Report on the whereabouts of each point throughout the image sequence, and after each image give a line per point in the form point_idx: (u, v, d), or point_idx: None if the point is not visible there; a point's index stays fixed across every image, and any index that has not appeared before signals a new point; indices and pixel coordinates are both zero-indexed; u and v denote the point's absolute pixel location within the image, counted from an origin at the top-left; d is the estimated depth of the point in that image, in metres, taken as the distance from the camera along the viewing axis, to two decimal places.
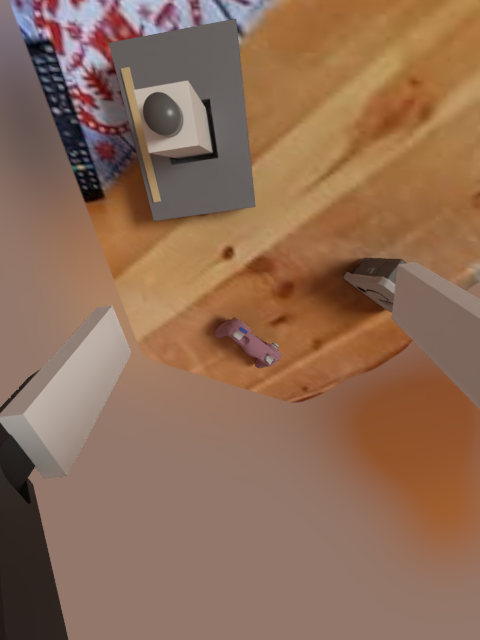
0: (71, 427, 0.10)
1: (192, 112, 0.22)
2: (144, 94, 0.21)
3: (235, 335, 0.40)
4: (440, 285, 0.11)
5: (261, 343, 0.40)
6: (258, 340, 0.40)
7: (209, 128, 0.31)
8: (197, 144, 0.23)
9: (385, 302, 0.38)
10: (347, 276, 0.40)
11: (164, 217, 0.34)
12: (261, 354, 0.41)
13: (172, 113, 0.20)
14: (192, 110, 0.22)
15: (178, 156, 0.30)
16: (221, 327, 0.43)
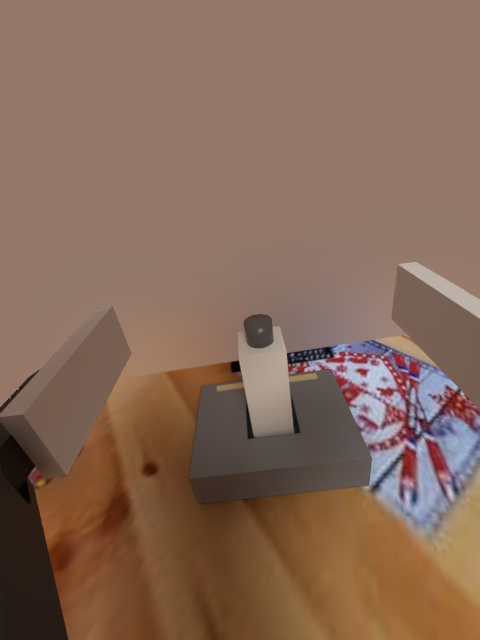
0: (71, 427, 0.10)
1: (263, 353, 0.24)
2: (276, 330, 0.27)
3: None
4: (440, 285, 0.11)
5: None
6: None
7: None
8: (239, 356, 0.25)
9: None
10: None
11: (202, 393, 0.35)
12: None
13: (256, 326, 0.24)
14: (265, 353, 0.24)
15: None
16: None
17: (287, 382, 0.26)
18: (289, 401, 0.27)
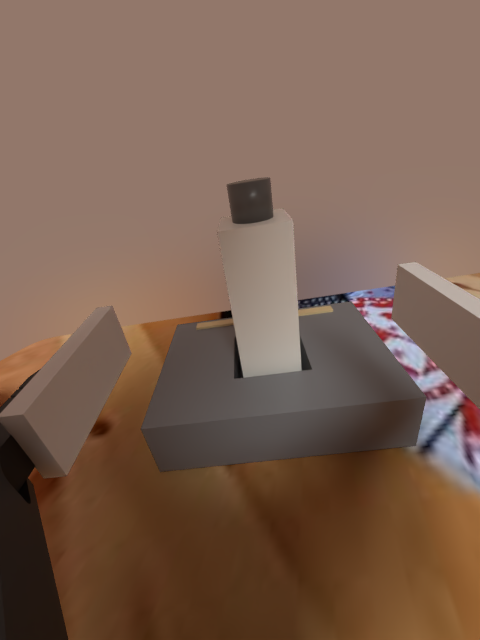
0: (71, 427, 0.10)
1: (256, 225, 0.15)
2: (278, 211, 0.18)
3: None
4: (440, 285, 0.11)
5: None
6: None
7: None
8: (218, 231, 0.16)
9: None
10: None
11: (177, 332, 0.26)
12: None
13: (246, 182, 0.15)
14: (259, 226, 0.15)
15: None
16: None
17: (293, 282, 0.17)
18: (296, 317, 0.18)
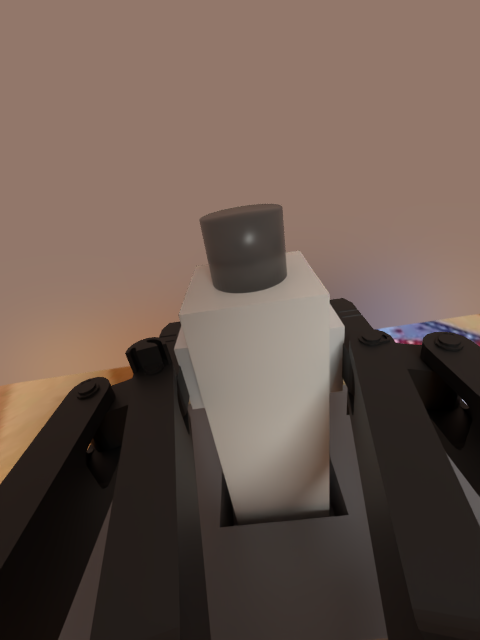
0: None
1: (256, 303, 0.08)
2: (293, 257, 0.10)
3: None
4: None
5: None
6: None
7: None
8: (181, 314, 0.08)
9: None
10: None
11: None
12: None
13: (235, 218, 0.08)
14: (262, 305, 0.08)
15: None
16: None
17: (324, 394, 0.09)
18: (325, 442, 0.10)
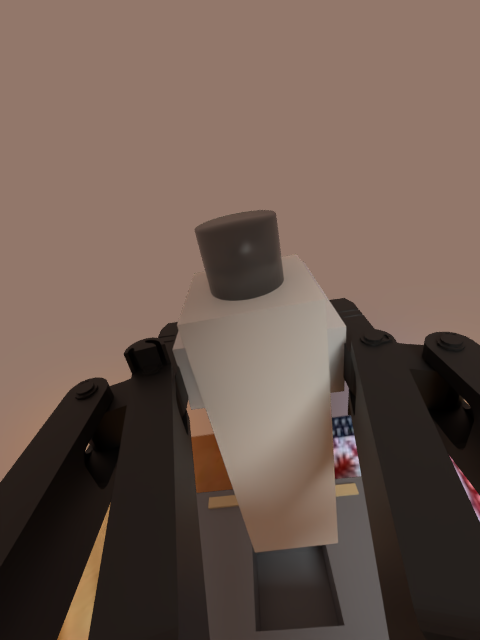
0: None
1: (253, 310, 0.08)
2: (290, 261, 0.11)
3: None
4: None
5: None
6: None
7: (298, 523, 0.13)
8: (179, 323, 0.08)
9: None
10: None
11: None
12: None
13: (230, 228, 0.08)
14: (259, 312, 0.08)
15: None
16: None
17: (325, 397, 0.09)
18: (329, 444, 0.10)
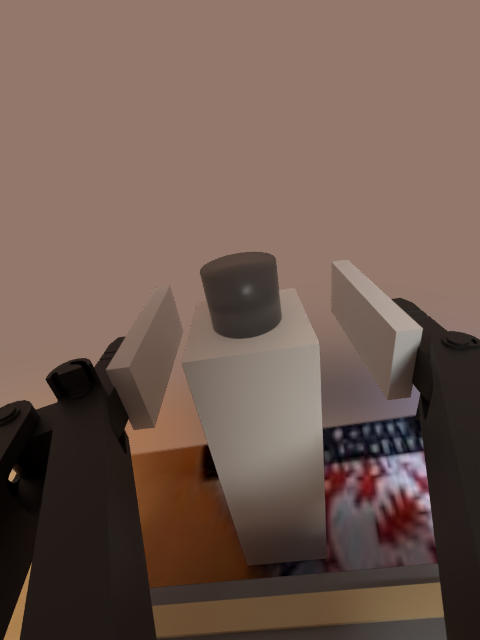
0: (154, 386, 0.11)
1: (252, 351, 0.08)
2: (288, 296, 0.11)
3: None
4: (356, 279, 0.12)
5: None
6: None
7: (289, 540, 0.14)
8: (184, 361, 0.09)
9: None
10: None
11: None
12: None
13: (233, 274, 0.08)
14: (257, 353, 0.08)
15: None
16: None
17: (318, 428, 0.10)
18: (320, 469, 0.11)
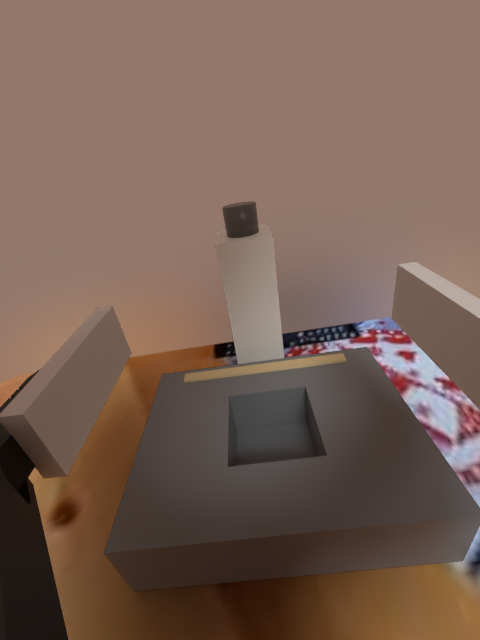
0: (71, 427, 0.10)
1: (245, 239, 0.20)
2: (263, 226, 0.23)
3: None
4: (440, 285, 0.11)
5: None
6: None
7: None
8: (216, 244, 0.20)
9: None
10: None
11: (161, 385, 0.22)
12: None
13: (237, 207, 0.20)
14: (247, 240, 0.20)
15: None
16: None
17: (275, 282, 0.22)
18: (278, 310, 0.23)
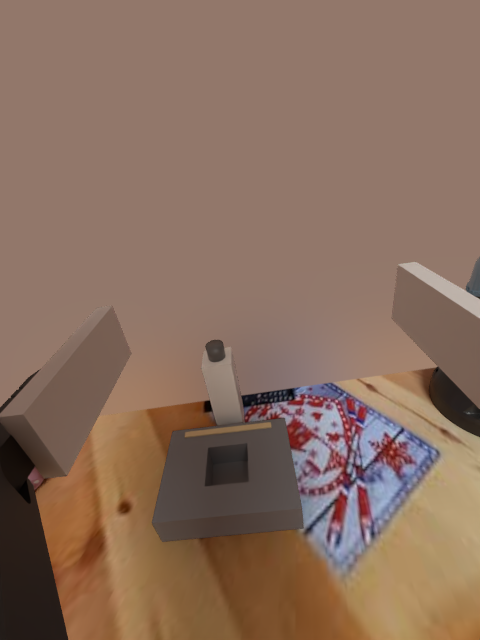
0: (71, 427, 0.10)
1: (216, 365, 0.39)
2: (228, 349, 0.41)
3: None
4: (440, 285, 0.11)
5: None
6: None
7: (231, 422, 0.44)
8: (201, 367, 0.39)
9: None
10: None
11: (172, 438, 0.41)
12: None
13: (212, 348, 0.39)
14: (218, 365, 0.39)
15: None
16: None
17: (234, 384, 0.40)
18: (236, 396, 0.41)
